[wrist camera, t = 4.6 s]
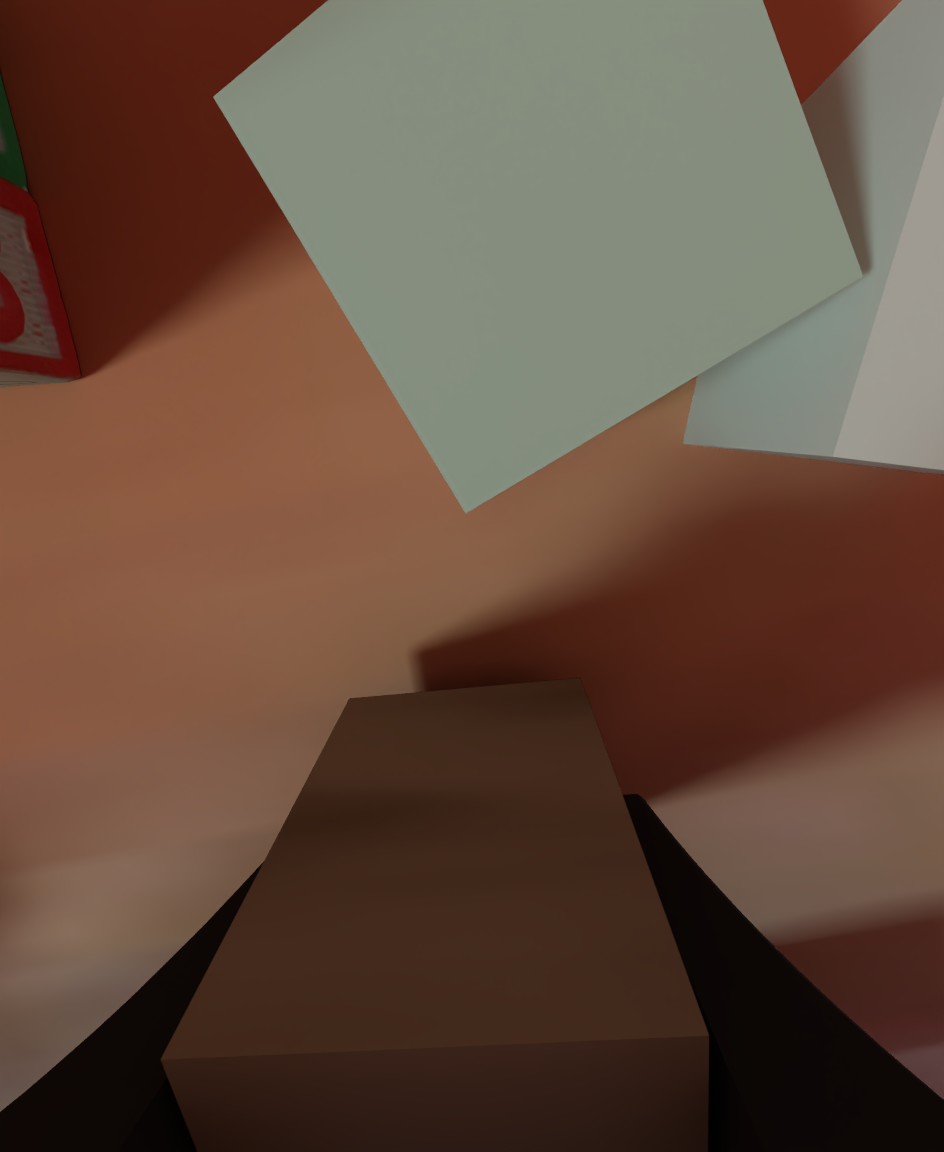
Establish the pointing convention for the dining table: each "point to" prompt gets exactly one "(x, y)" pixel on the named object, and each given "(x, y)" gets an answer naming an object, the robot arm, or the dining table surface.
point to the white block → (872, 303)
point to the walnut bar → (450, 951)
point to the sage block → (543, 205)
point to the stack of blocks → (27, 280)
